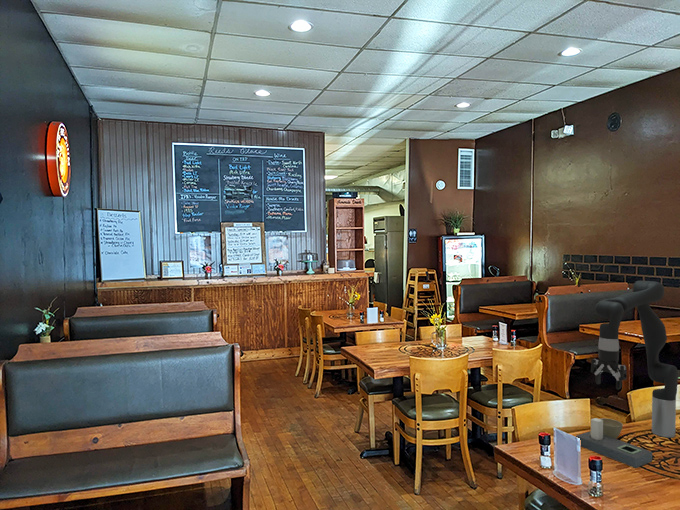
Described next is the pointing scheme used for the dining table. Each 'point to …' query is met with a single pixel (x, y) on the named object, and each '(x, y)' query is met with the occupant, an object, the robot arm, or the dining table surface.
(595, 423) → the plug peg
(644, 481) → the dining table surface
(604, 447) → the panel
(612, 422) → the flower pot
